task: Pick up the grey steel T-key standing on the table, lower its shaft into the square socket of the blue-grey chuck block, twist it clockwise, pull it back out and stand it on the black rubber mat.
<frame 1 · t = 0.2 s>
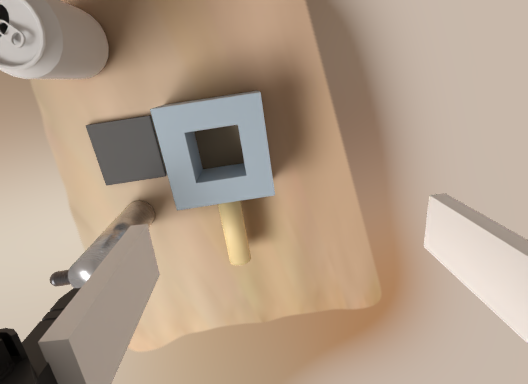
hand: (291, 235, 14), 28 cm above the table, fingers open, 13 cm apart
can: (79, 45, 36), on the table
key: (140, 213, 43), on the table
mat: (128, 150, 40), on the table
chuck block: (220, 144, 41), on the table
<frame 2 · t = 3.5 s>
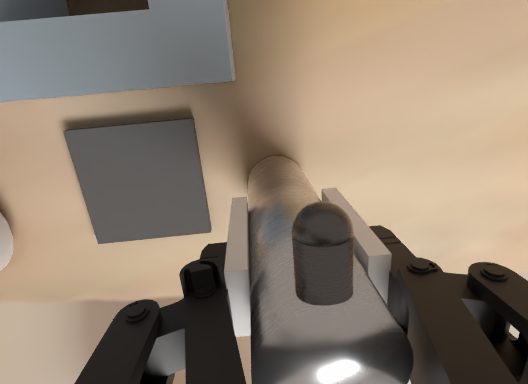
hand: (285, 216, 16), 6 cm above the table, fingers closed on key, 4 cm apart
key: (276, 183, 22), on the table, touching gripper
mat: (145, 182, 21), on the table
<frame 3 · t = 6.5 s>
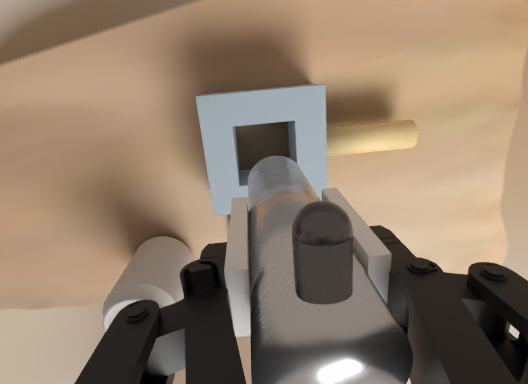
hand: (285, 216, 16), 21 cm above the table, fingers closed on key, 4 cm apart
can: (166, 257, 40), on the table
key: (276, 183, 22), point 15 cm above the table, touching gripper
chuck block: (262, 142, 36), on the table
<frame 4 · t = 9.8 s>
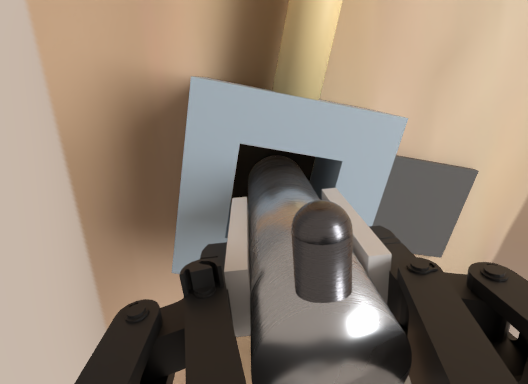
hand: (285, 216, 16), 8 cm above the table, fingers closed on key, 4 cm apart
key: (275, 183, 22), point 2 cm above the table, touching gripper
mat: (410, 206, 26), on the table
chuck block: (273, 172, 24), on the table
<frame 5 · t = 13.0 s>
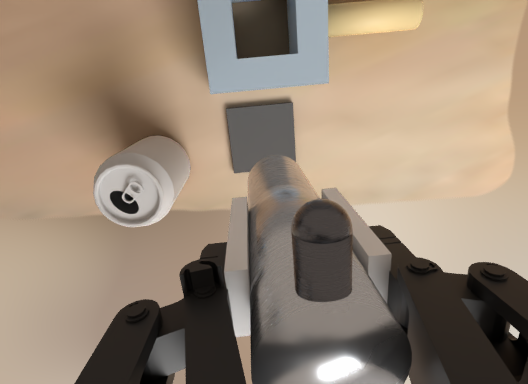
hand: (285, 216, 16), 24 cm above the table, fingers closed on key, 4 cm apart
can: (162, 163, 39), on the table
key: (275, 182, 22), point 18 cm above the table, touching gripper
mat: (262, 138, 38), on the table
chuck block: (261, 31, 34), on the table
when the fingers open (7 cm above the table, at t = 16.1 s): key stays where it is, resting on mat.
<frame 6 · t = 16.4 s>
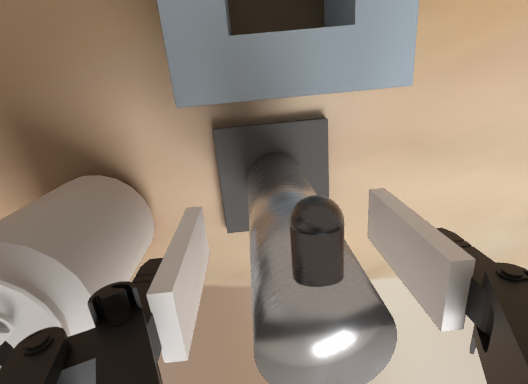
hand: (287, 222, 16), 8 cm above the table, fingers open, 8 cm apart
can: (109, 217, 24), on the table
key: (274, 178, 22), point 1 cm above the table, touching mat
mat: (274, 176, 23), on the table
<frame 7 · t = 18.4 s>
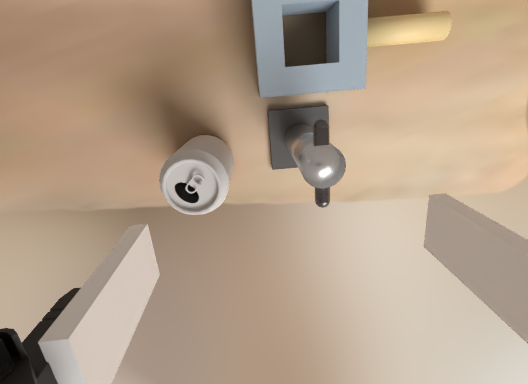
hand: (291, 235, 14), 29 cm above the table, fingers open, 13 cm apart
can: (207, 160, 43), on the table
key: (299, 138, 42), point 1 cm above the table, touching mat
mat: (298, 137, 42), on the table
chuck block: (302, 41, 38), on the table
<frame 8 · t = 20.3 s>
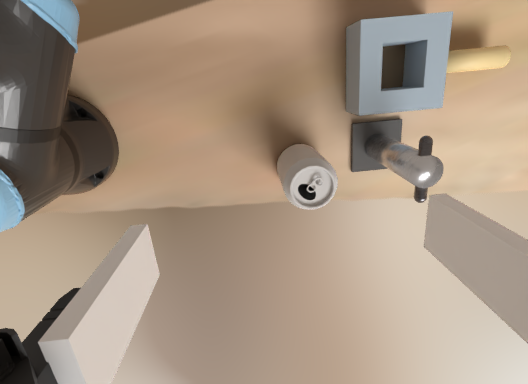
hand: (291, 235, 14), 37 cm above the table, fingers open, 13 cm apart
can: (298, 164, 52), on the table
key: (376, 146, 50), point 1 cm above the table, touching mat
mat: (375, 145, 51), on the table
chuck block: (384, 67, 47), on the table
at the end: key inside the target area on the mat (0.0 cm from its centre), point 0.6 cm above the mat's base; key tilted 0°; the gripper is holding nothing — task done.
